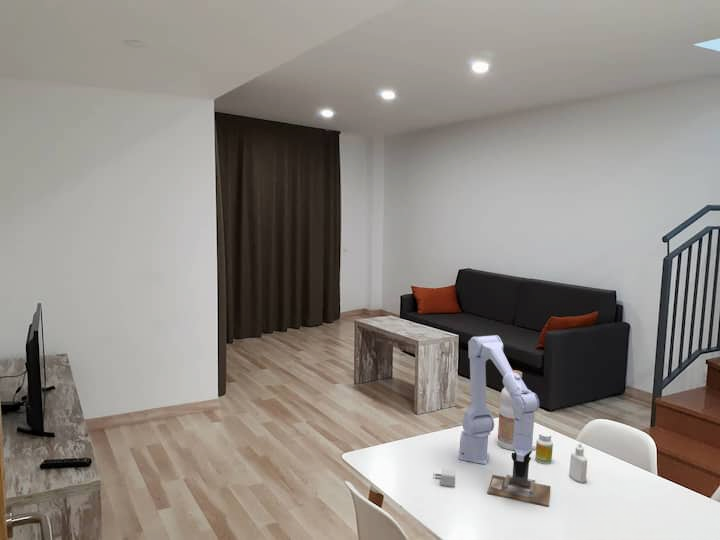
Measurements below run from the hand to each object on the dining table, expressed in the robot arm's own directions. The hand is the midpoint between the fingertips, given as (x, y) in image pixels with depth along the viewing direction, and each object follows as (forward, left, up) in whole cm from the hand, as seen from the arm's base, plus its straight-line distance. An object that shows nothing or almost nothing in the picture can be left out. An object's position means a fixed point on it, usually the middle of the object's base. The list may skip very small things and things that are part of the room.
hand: (520, 473), depth 171 cm
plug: (0, 0, -2) cm, 2 cm away
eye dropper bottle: (+17, +16, -6) cm, 24 cm away
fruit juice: (-6, +33, -6) cm, 34 cm away
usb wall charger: (-23, -5, -6) cm, 24 cm away
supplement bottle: (+6, +25, -6) cm, 26 cm away
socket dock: (0, 0, -6) cm, 6 cm away
